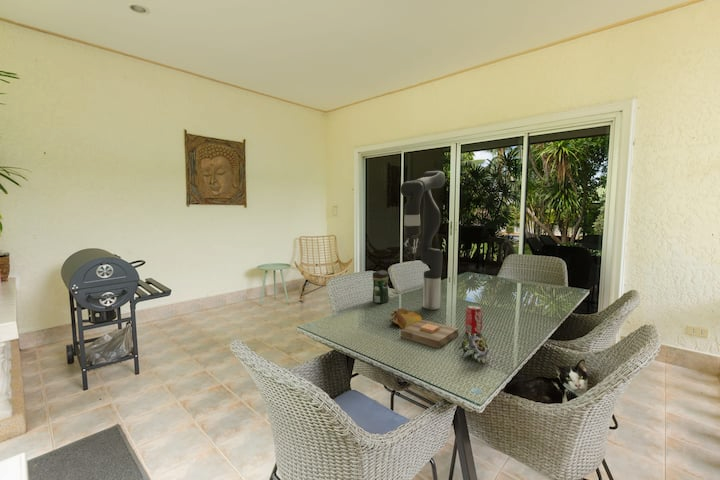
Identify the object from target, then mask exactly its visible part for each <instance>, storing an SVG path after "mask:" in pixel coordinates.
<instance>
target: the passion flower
mask: <svg viewBox="0 0 720 480" xmlns="http://www.w3.org/2000/svg"><path fill="white" fill-rule="evenodd" d="M467 335H468V338H469V339H468V340H466V338H465V337H462V343H461V345H460V347H459V349H458V350H462V349H463V350H462V356H465V354H466V353H468V351H473V353H472V355H471V358H472V359H473V360H475V361H476V362H477V363H479V364H480V362H481V364H485V362H486V359H485V358H488V357H489V353H488V352H489V347H488V346H489V345H488V343H487V341H486V340H487V339H486V338H482V337H480V336H477V335H476V334H474V335H471V334H470V333H469V332H468V333H467Z"/></svg>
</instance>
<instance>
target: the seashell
mask: <svg viewBox="0 0 720 480" xmlns="http://www.w3.org/2000/svg"><path fill="white" fill-rule="evenodd" d="M389 319H390V322H391V324H392V325H398V327H400V328H401V330H403V329H405V328H407V327H409V326H411V325H413V324H415V323H417V322H419V321H421V320H423V316H422V315H420V314H419V313H417V312H415V311H412V310H407V309H406V308H405V309H404V308H398V309H397V310H394V311H393V313H390V318H389Z"/></svg>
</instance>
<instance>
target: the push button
mask: <svg viewBox="0 0 720 480" xmlns="http://www.w3.org/2000/svg"><path fill="white" fill-rule="evenodd" d="M420 330H422V331H425V332H429V333H435V332H437V331H438V330H439V326H436V325H432V324H428V323H427V324H425V325H423V326H421V327H420Z"/></svg>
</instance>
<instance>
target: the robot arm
mask: <svg viewBox="0 0 720 480" xmlns="http://www.w3.org/2000/svg"><path fill="white" fill-rule="evenodd" d="M445 184H446V176H445V173H444V172H443V171H442V170H430V171H425V172H424V173H423V177H419V178H417V179H414V180H407V181H405V182H403V183H402V184H401V185H400V193H401V195H402V196H403V197H406V198H410V197H411V198H412V197H413V199H412V200H411V201H408V202H405V204H404V218H403V219H404V221H403V223H404V224H403V226H404V227H403V230H404V233H403V234H404V235H406V238H405V242H403V247H404V248H405V251H406V252H407V253H408V254H409V261H410V262H414V261H416V254H417V252H418V251H419V248H420V246H421V249H420V260H421V262H422V264H424V265H429V266H430V269H429V270H425V271H424V272H423V289H422V290H423V293H422V294H423V296H422V297H423V299H422V307H423V308H424V309H427V310H431V311H432V310H439V309H440V308H441V278H442V277H441V275H442V272H443V256H444V255H443V251H442V250H441V249H439V248H433V247H432V242H433V238H434V236H435V235H436V233H437V232H438V230H439V228H440V226H441V210H440V209H439V207H438V205H437V203H436V202H435V200H434V198H433V196H432V189H441V188H443V187H444V186H445ZM422 197H423V198H422ZM422 199H423V213H422V214H423V215H422V219H423V220H422V225H423V226H422V240H421V239H419V235H420V234H421V213H420V212H421V203H422V202H421V201H422Z"/></svg>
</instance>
